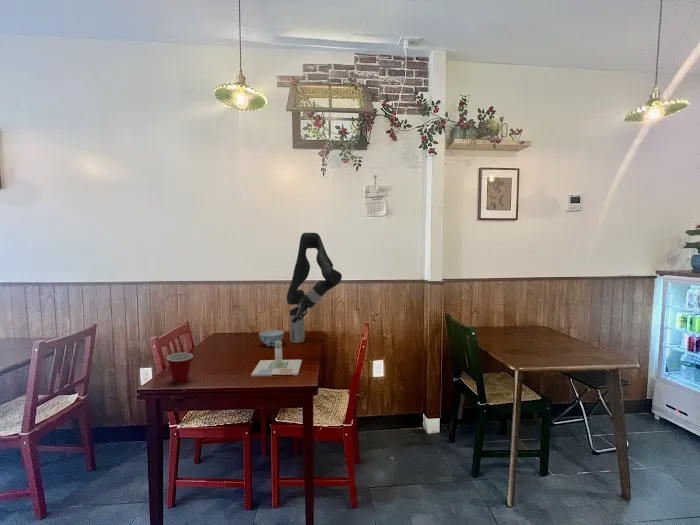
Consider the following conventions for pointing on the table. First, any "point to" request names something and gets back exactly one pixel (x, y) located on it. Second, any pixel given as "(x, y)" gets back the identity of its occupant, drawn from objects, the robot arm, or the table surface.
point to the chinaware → (271, 336)
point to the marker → (278, 353)
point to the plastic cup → (179, 366)
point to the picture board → (277, 368)
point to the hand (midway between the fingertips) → (292, 317)
